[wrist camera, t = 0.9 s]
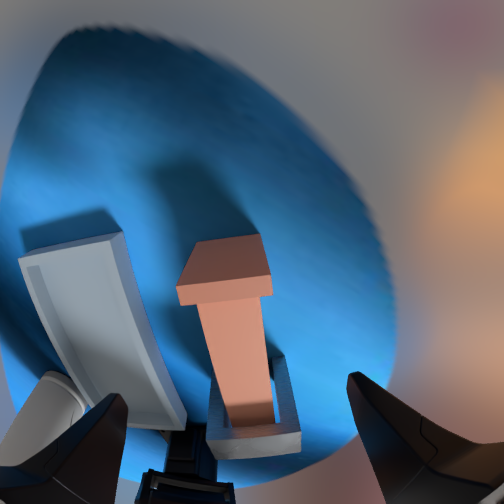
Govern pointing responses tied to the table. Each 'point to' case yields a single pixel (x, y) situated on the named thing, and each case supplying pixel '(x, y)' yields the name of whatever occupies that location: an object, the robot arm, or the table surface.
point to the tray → (103, 327)
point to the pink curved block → (233, 321)
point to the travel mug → (42, 418)
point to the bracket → (255, 437)
